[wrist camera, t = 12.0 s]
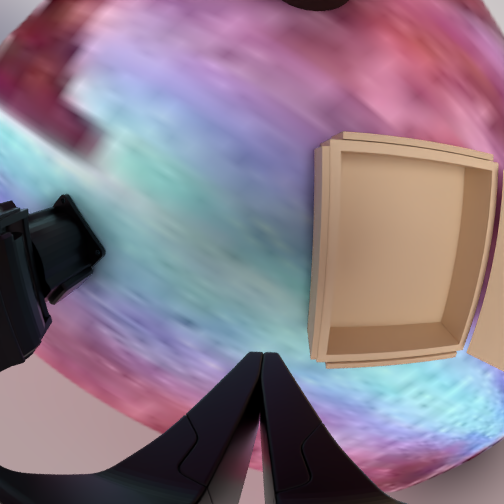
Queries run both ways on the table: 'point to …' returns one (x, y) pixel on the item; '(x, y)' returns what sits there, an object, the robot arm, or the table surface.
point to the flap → (492, 309)
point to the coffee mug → (316, 4)
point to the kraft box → (397, 248)
